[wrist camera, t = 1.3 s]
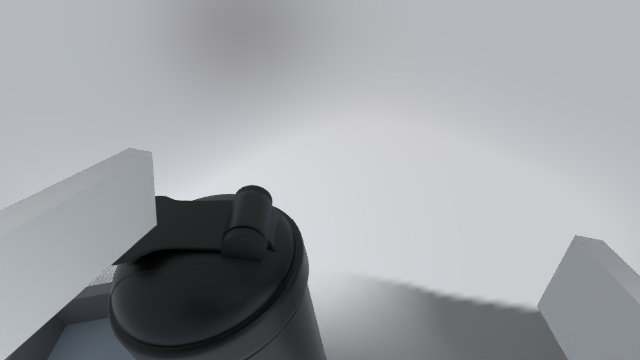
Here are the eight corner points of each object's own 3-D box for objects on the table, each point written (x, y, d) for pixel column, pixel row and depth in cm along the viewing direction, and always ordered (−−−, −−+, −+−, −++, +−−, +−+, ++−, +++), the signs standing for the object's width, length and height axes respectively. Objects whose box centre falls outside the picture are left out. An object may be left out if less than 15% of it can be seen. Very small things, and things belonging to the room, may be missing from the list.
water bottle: (240, 364, 34) (127, 172, 21) (343, 351, 33) (292, 145, 20) (218, 501, 26) (10, 327, 13) (355, 489, 25) (283, 290, 12)
